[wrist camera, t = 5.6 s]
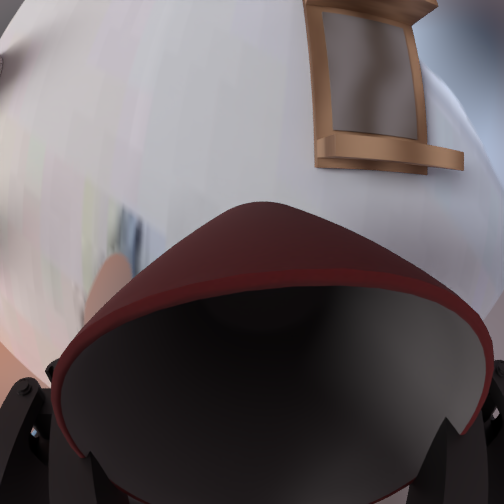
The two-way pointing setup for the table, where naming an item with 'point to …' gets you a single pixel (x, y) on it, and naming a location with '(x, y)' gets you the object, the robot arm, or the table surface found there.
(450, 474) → the robot arm
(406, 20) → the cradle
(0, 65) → the mug
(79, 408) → the mug
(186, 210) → the table surface
